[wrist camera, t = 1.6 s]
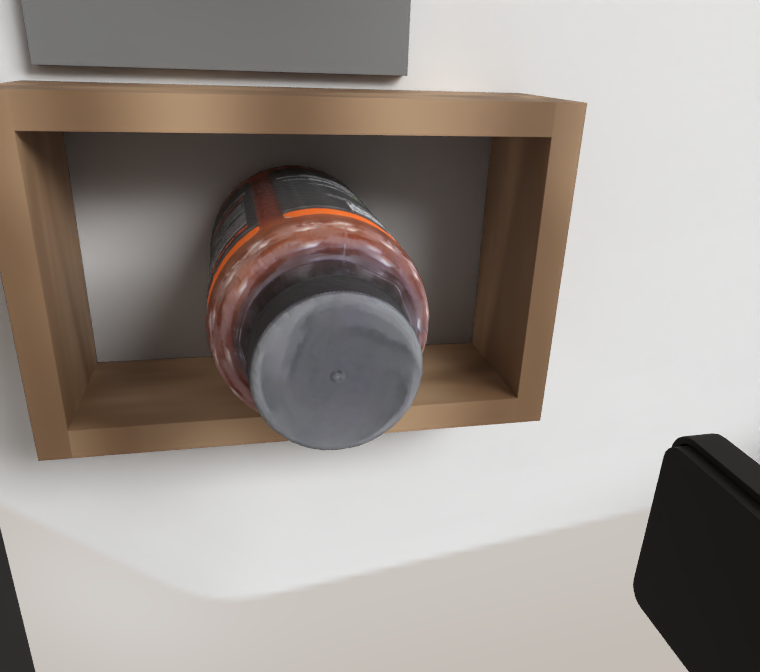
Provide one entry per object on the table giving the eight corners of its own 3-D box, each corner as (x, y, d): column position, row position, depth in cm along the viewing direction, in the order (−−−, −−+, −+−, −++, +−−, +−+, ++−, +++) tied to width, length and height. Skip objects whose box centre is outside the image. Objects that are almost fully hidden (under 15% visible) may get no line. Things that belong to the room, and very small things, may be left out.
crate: (521, 93, 24) (587, 103, 20) (491, 362, 29) (539, 420, 24) (21, 80, 21) (-37, 88, 16) (73, 387, 25) (38, 460, 21)
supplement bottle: (214, 318, 25) (201, 498, 15) (207, 159, 23) (187, 246, 13) (366, 315, 27) (450, 480, 16) (375, 164, 24) (478, 247, 14)
